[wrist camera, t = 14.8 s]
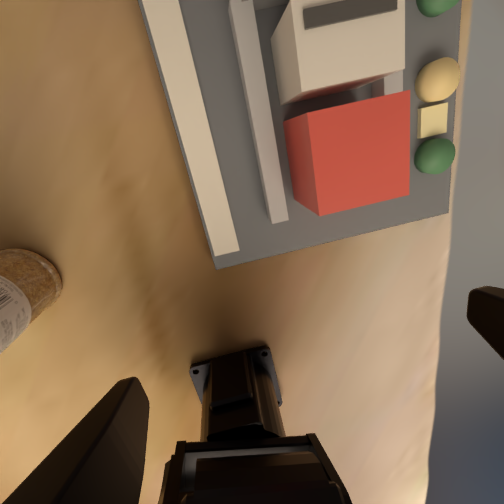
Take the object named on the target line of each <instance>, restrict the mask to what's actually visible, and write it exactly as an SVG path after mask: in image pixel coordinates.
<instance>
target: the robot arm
mask: <svg viewBox="0 0 504 504" xmlns="http://www.w3.org/2000/svg"><path fill="white" fill-rule="evenodd" d="M467 319H468V321H469V323H470V324H471V325H472V326H473V327H474V328H475V330H476V331H477V332H478V333H479V334H480V335H481V336H482V337H483V338H484V339H485V340H486V341H487V342H488V343H489V344H490V346H491V347H492V348H493V349H494V350H495V351H496V352H497V353H498V354H499V355H500V357H501V358H502V359H503V360H504V289H502V288H497V287H491V286H483V287H480V288H476V289H473V290H471V291H470V293H469V296H468V305H467ZM265 351H266V353H262V352H265ZM195 369H197V371H195ZM189 373H190V376H191V378H192V381H193V383H194V386H195V389H196V391H197V394H198V396H199V399H200V401H201V404H202V418H201V437H200V442H186V441H177V444H176V450H175V455H172V456H171V460H170V461H168V462H167V463H165V470H164V476H163V482H162V488H161V493H160V497H159V501H158V504H352V502H351V499H350V497H349V494H348V492H347V490H346V488H345V486H344V484H343V482H342V481H341V479H340V477H339V475H338V474H337V472H336V470H335V468H334V466H333V465H332V463H331V461H330V459H329V458H328V456H327V454H326V452H325V450H324V449H323V447H322V445H321V443H320V442H319V440H318V438H317V436H316V434H315V433H310V434H306V435H303V436H287V437H286V435H285V431H284V427H283V422H282V418H281V414H280V410H279V407H280V406H281V405H282V398H281V394H280V390H279V385H278V381H277V377H276V373H275V368H274V364H273V360H272V356H271V352H270V348H269V347H268V346H260V347H256V348H252V349H248V350H244V351H240V352H236V353H232V354H228V355H225V356H221V357H217V358H213V359H209V360H205V361H201V362H197V363H194V364H192V365H191V366H190V370H189ZM148 419H149V400H148V397H147V395H146V393H145V391H144V389H143V387H142V385H141V383H140V381H139V379H138V378H137V377H130V378H126V379H122V380H120V381H118V382H117V383H116V384H115V385H114V386H113V387H112V388H111V389H110V390H109V392H108V393H107V394H106V395H105V396H104V397H103V398H102V399H101V400H100V401H99V402H98V403H97V404H96V405H95V406H94V407H93V408H92V409H91V410H90V412H89V413H88V414H87V415H86V416H85V417H84V418H83V419H82V420H81V421H80V422H79V423H78V424H77V425H76V426H75V427H74V428H73V429H72V430H71V432H70V433H69V434H68V435H67V436H66V437H65V438H64V439H63V440H62V441H61V442H60V443H59V444H58V445H57V446H56V447H55V448H54V449H53V450H52V452H51V453H50V454H49V455H48V456H47V457H46V458H45V459H44V460H43V461H42V462H41V463H40V464H39V465H38V466H37V467H36V468H35V469H34V470H33V472H32V473H31V474H30V475H29V476H28V477H27V478H26V479H25V480H24V481H23V482H22V483H21V484H20V485H19V486H18V487H17V488H16V489H15V490H14V492H13V493H12V494H11V495H10V496H9V497H8V498H7V499H6V500H5V501H4V502H3V503H2V504H138V503H139V497H140V492H141V486H142V480H143V473H144V464H145V453H146V442H147V430H148Z"/></svg>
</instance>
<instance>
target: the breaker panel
mask: <svg viewBox="0 0 504 504" xmlns="http://www.w3.org/2000/svg"><path fill="white" fill-rule="evenodd" d="M289 1H290V0H138V2H139V6H140V9H141V13H142V16H143V20H144V23H145V27H146V30H147V34H148V37H149V40H150V44H151V47H152V51H153V54H154V58H155V61H156V65H157V68H158V72H159V75H160V78H161V82H162V85H163V89H164V92H165V96H166V99H167V103H168V106H169V110H170V113H171V116H172V120H173V123H174V127H175V130H176V134H177V137H178V141H179V144H180V148H181V151H182V154H183V158H184V161H185V165H186V168H187V172H188V175H189V179H190V182H191V186H192V189H193V192H194V196H195V199H196V203H197V206H198V210H199V213H200V217H201V220H202V223H203V227H204V230H205V234H206V237H207V241H208V244H209V248H210V251H211V255H212V258H213V261H214V265H215V268H216V270H218V269H222V268H226V267H230V266H234V265H238V264H242V263H246V262H250V261H254V260H258V259H263V258H267V257H271V256H275V255H279V254H283V253H287V252H291V251H295V250H299V249H303V248H307V247H311V246H316V245H320V244H324V243H328V242H332V241H336V240H340V239H344V238H348V237H352V236H356V235H360V234H365V233H369V232H373V231H377V230H381V229H385V228H389V227H393V226H397V225H401V224H405V223H409V222H413V221H418V220H422V219H426V218H430V217H434V216H438V215H442V214H446V213H448V212H449V196H450V180H451V164H452V162H453V160H454V157H455V147H454V144H453V132H454V116H455V99H456V88H457V86H458V83H459V80H460V68H459V65H458V51H459V35H460V19H461V3H462V0H405V69H403V70H401V71H398V72H396V73H393V74H391V75H388V76H386V77H384V78H381V79H379V80H376V81H374V82H371V83H369V84H367V85H364V86H362V87H359V88H356V89H351V90H347V91H343V92H338V93H334V94H329V95H325V96H320V97H316V98H311V99H307V100H302V101H298V102H293V103H289V104H285V105H280V100H279V93H278V86H277V80H276V73H275V67H274V60H273V54H272V47H271V40H270V39H271V37H272V35H273V33H274V31H275V29H276V27H277V25H278V23H279V21H280V19H281V17H282V15H283V13H284V11H285V9H286V7H287V5H288V3H289ZM407 90H410V181H409V195H407V196H402V197H398V198H394V199H390V200H386V201H382V202H377V203H373V204H369V205H365V206H361V207H357V208H352V209H348V210H344V211H340V212H336V213H331V214H327V215H323V216H318V215H317V214H315V213H314V212H312V211H311V210H309V209H308V208H306V207H305V206H303V205H302V204H300V203H299V202H297V201H296V200H294V194H293V187H292V181H291V174H290V167H289V161H288V154H287V148H286V141H285V134H284V128H283V122H284V121H286V120H289V119H292V118H294V117H297V116H300V115H302V114H305V113H308V112H313V111H317V110H322V109H326V108H331V107H335V106H340V105H344V104H349V103H353V102H357V101H362V100H366V99H371V98H375V97H380V96H384V95H389V94H393V93H398V92H402V91H407Z"/></svg>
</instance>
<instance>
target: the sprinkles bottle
mask: <svg viewBox="0 0 504 504" xmlns="http://www.w3.org/2000/svg"><path fill="white" fill-rule="evenodd" d="M61 289H62V283H61V279H60V276H59V273H58V272H57V271H56V269H55V267H54V266H53V264H51V263H50V262H49V261H48V260H47V259H45V258H44V257H42V256H40V255H38V254H36V253H34V252H31V251H28V250H25V249H5V250H1V251H0V354H1V353H2V352H3V351H4V350H5V349H6V348H7V347H8V346H9V345H10V344H11V343H12V342H13V341H14V340H15V339H16V338H17V337H18V336H19V335H20V334H22V333H23V332H24V331H25V329H26V328H27V327H28V325H29V324H30V323H31V322H32V321H34V320H35V319H36V318H37V317H38V316H39V315H40V314H41V312H42V311H44V310H45V309H47V308H49V307H50V306H51V305H52V304H53V303H55V302H56V300H57V299H58V297H59V296H60V293H61Z"/></svg>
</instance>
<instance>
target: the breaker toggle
mask: <svg viewBox="0 0 504 504" xmlns="http://www.w3.org/2000/svg"><path fill="white" fill-rule="evenodd" d="M270 40H271V47H272V54H273V60H274V67H275V73H276V80H277V86H278V93H279V100H280V105H285V104H289V103H293V102H298V101H302V100H307V99H311V98H316V97H320V96H325V95H329V94H334V93H338V92H343V91H347V90H351V89H356V88H359V87H362V86H364V85H367V84H369V83H371V82H374V81H376V80H379V79H381V78H384V77H386V76H388V75H391V74H393V73H396V72H398V71H401V70H403V69H405V0H290V1H289V3H288V5H287V7H286V9H285V11H284V13H283V15H282V17H281V19H280V21H279V23H278V25H277V27H276V29H275V31H274V33H273V35H272V37H271V39H270Z"/></svg>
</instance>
